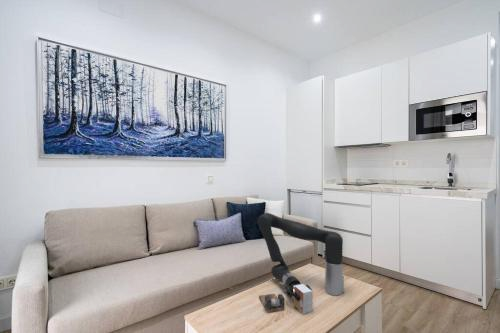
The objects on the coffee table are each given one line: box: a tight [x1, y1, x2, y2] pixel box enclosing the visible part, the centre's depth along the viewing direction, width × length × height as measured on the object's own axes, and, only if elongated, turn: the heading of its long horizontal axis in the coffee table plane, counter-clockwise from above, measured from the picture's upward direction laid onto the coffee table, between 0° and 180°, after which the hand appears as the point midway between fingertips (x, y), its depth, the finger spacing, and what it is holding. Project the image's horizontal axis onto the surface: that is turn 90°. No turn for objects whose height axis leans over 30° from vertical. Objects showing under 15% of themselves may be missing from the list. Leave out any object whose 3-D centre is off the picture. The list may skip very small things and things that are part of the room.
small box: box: [293, 283, 313, 315], centre depth 122 cm, size 8×6×10 cm
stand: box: [258, 293, 286, 314], centre depth 126 cm, size 9×14×6 cm, turn 15°
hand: (305, 298), depth 120 cm, fingers closed on small box, 6 cm apart
